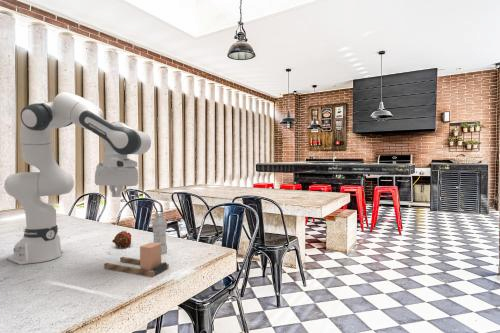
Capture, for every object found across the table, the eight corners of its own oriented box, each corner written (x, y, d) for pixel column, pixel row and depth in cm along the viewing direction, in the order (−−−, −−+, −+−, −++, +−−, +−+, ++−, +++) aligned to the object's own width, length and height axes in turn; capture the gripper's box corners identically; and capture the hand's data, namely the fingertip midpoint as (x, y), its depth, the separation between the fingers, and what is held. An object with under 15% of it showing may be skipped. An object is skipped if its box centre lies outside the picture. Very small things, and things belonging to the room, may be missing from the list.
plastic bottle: (151, 253, 138) (151, 211, 138) (166, 251, 141) (165, 210, 141) (152, 257, 132) (152, 213, 132) (168, 255, 135) (167, 212, 135)
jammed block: (140, 272, 112) (139, 246, 111) (151, 267, 117) (150, 242, 117) (150, 274, 110) (150, 248, 110) (161, 269, 115) (161, 243, 115)
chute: (104, 271, 117) (104, 261, 117) (122, 263, 125) (122, 254, 125) (152, 280, 107) (152, 269, 107) (168, 271, 116) (168, 261, 116)
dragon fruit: (124, 253, 145) (119, 250, 155) (138, 240, 149) (132, 238, 159) (112, 240, 143) (108, 238, 152) (127, 228, 147) (121, 227, 157)
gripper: (90, 162, 120) (90, 196, 121) (128, 162, 112) (129, 198, 113) (103, 162, 126) (103, 195, 126) (140, 162, 118) (141, 196, 119)
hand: (116, 196), depth 119 cm, fingers closed
